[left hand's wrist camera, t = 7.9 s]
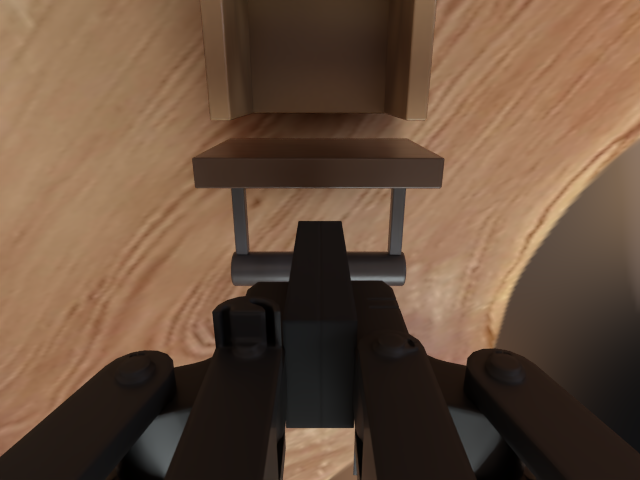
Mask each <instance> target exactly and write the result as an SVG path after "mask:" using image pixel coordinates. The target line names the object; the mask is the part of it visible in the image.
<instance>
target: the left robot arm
mask: <svg viewBox="0 0 640 480" xmlns="http://www.w3.org/2000/svg"><path fill="white" fill-rule="evenodd" d="M212 314H213V324H214V333H215V343H216V349H215V352H214V354H213V357H211V358H209V359H207V360H204V361H201V362H197V363H194V364H189V365H184V366H179V367H175V368H174V365H173V360H172V359H171V358H170V357H169V356H168V354H165V353H162V352H159V351H146V350H144V351H139V352H133V353H130V354H127V355H125V356H122V357H120V358H117V359H115V360H114V361H112V362H111V363H109V364H108V365H106V366H105V367H104V368H103V369H102V370H100V371H99V372H98V373H97V374H96V375H95V376H93V377H92V378H91V379H90V380H89V381H88V382H87V383H85V384H84V385H83V386H82V387H81V388H80V389H78V390H77V391H76V392H75V393H74V394H73V395H71V396H70V397H69V398H68V399H67V400H66V401H65V402H63V403H62V404H61V405H60V406H59V407H58V408H56V409H55V410H54V411H53V412H52V413H51V414H49V415H48V416H47V417H46V418H45V419H44V420H43V421H41V422H40V423H39V424H38V425H37V426H36V427H34V428H33V429H32V430H31V431H30V432H29V433H27V434H26V435H25V436H24V437H23V438H22V439H21V440H19V441H18V442H17V443H16V444H15V445H14V446H12V447H11V448H10V449H9V450H8V451H7V452H6V453H4V454H3V455H2V456H1V457H0V480H283V471H284V460H285V449H286V446H285V423H286V428H354V421H355V446H354V473H353V475H357V480H640V454H639V453H638V452H637V451H636V450H635V449H633V448H632V447H631V446H630V445H629V444H627V443H626V442H625V441H624V440H623V439H622V438H621V437H619V436H618V435H617V434H616V433H615V432H614V431H612V430H611V429H610V428H609V427H608V426H607V425H605V424H604V423H603V422H602V421H601V420H600V419H598V418H597V417H596V416H595V415H594V414H593V413H591V412H590V411H589V410H588V409H587V408H586V407H584V406H583V405H582V404H581V403H580V402H579V401H577V400H576V399H575V398H574V397H573V396H572V395H570V394H569V393H568V392H567V391H566V390H564V389H563V388H562V387H561V386H560V385H559V384H557V383H556V382H555V381H554V380H553V379H552V378H551V377H549V376H548V375H547V374H546V373H545V372H544V371H542V370H541V369H540V368H539V367H538V366H537V365H535V364H534V363H532V362H531V361H529V360H528V359H526V358H525V357H523V356H521V355H518V354H515V353H513V352H511V351H507V350H502V349H481V350H478V351H475V352H473V353H472V354H471V355H470V356H469V357H468V358H467V365H466V366H465V365H460V364H455V363H450V362H445V361H442V360H438V359H435V358H433V357H431V356H428V355H427V354H426V351H425V349H424V347H423V345H422V344H421V343H420V341H419V340H418V339H416V338H415V337H413V336H411V335H410V334H409V333H408V330H407V328H406V325H405V322H404V319H403V317H402V314H401V311H400V309H399V306H398V303H397V300H396V297H395V295H394V292H393V289H392V288H391V287H390V286H388V285H387V284H386V283H385V282H383V281H382V280H351V277H350V271H349V265H348V258H347V252H346V246H345V240H344V234H343V228H342V222H341V221H299V222H298V228H297V234H296V240H295V246H294V252H293V258H292V265H291V271H290V277H289V282H257V283H256V284H255V285H253V286H252V287H251V288H250V289H248V291H247V293H246V296H243V297H237V298H233V299H230V300H227V301H225V302H223V303H221V304H219V305H218V306H217V307H216V308H215V309H214V310H213V312H212Z"/></svg>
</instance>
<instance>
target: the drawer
mask: <svg viewBox="0 0 640 480" xmlns="http://www.w3.org/2000/svg"><path fill="white" fill-rule="evenodd" d="M436 5H437V0H200V8H201V20H202V31H203V43H204V54H205V66H206V77H207V89H208V100H209V112H210V119H211V120H232V119H235V118H238V117H241V116H245V115H248V114H251V113H386V114H389V115H392V116H395V117H398V118H401V119H404V120H407V121H425V120H426V119H427V109H428V97H429V86H430V74H431V63H432V51H433V39H434V28H435V16H436ZM192 162H193V171H194V181H195V187H196V188H231V191H232V205H233V218H234V232H235V245H236V252H234V254H233V256H232V261H231V278H232V282H233V285H235V286H253V285H255V284H256V283H257V282H289V277H290V271H291V265H292V258H293V252H249V235H248V218H247V202H246V188H391V204H390V221H389V237H388V252H347V258H348V265H349V271H350V277H351V280H382V281H383V282H385V283H386V284H387V285H388V286H403V285H404V283H405V279H406V260H405V256H404V253H403V252H401V249H402V235H403V222H404V208H405V195H406V188H441V187H442V178H443V168H444V158H443V157H441V156H439V155H437V154H435V153H433V152H431V151H429V150H428V149H426V148H424V147H422V146H420V145H418V144H416V143H414V142H413V141H411V140H409V139H397V138H230V139H228V140H226V141H224V142H222V143H221V144H219V145H217V146H215V147H213V148H211V149H209V150H207V151H205V152H203V153H201V154H199V155H197V156H196V157H194V158H192Z"/></svg>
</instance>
